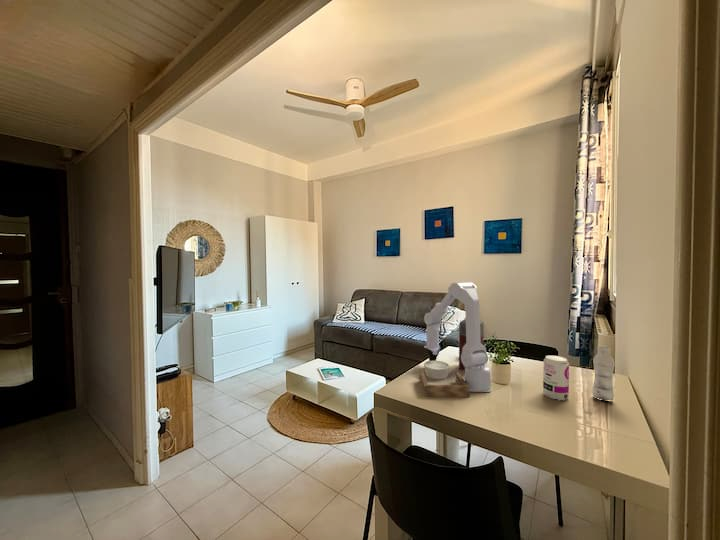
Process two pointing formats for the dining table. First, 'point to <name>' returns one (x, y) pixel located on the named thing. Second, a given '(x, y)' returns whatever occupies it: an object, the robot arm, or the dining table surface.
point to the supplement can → (556, 377)
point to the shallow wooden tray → (445, 388)
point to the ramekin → (436, 369)
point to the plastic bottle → (603, 374)
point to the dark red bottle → (463, 339)
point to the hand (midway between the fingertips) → (432, 364)
